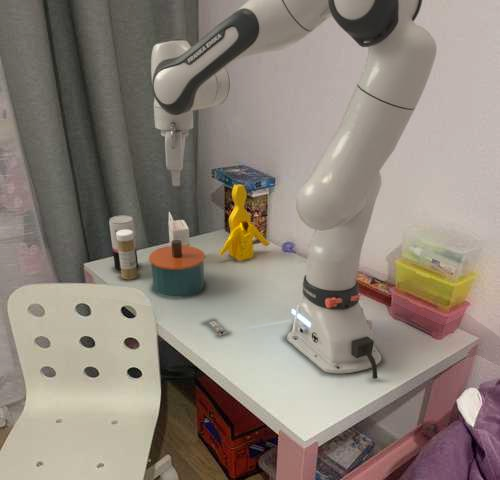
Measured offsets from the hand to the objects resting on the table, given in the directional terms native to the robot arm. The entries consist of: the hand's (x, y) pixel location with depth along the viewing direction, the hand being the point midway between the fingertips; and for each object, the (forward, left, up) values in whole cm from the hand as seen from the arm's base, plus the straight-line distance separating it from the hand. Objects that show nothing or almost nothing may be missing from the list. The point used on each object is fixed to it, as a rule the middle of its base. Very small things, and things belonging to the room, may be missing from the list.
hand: (177, 179), depth 119 cm
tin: (0, +1, -29) cm, 29 cm away
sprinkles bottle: (+10, +13, -29) cm, 34 cm away
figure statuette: (+14, -22, -29) cm, 39 cm away
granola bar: (-24, -3, -30) cm, 38 cm away
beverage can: (+16, +13, -29) cm, 36 cm away
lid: (0, +1, -21) cm, 21 cm away
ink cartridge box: (+16, -3, -29) cm, 34 cm away
